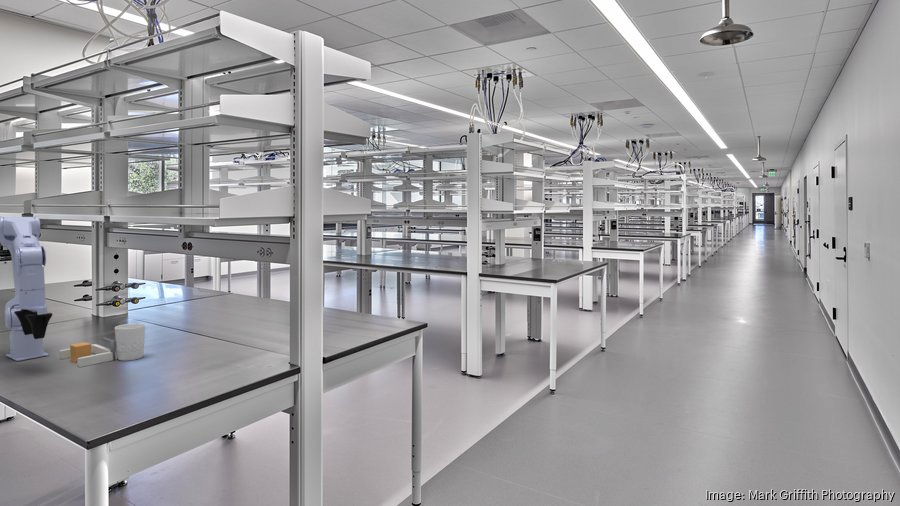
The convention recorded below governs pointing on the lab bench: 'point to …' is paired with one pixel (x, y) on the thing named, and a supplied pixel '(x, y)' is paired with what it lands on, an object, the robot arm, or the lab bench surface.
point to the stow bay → (101, 353)
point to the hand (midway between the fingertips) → (34, 336)
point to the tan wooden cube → (80, 351)
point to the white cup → (130, 341)
